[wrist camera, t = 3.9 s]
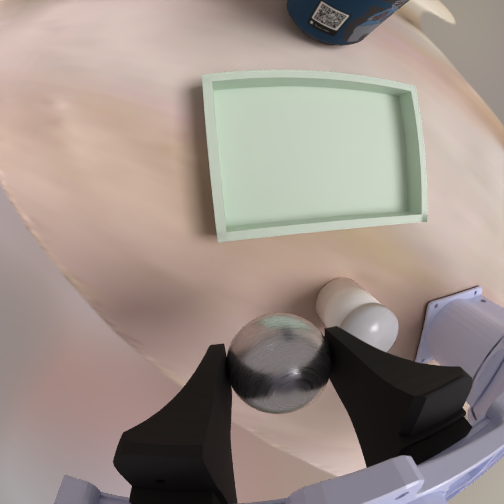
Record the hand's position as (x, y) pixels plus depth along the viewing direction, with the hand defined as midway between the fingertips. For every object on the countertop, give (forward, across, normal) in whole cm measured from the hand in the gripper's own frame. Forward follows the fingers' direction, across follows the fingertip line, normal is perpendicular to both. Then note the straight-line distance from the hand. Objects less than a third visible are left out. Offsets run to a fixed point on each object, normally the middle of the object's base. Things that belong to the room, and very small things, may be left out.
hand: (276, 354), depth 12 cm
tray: (+9, -6, -9) cm, 14 cm away
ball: (-1, 0, 0) cm, 1 cm away
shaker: (+9, -7, +3) cm, 11 cm away
